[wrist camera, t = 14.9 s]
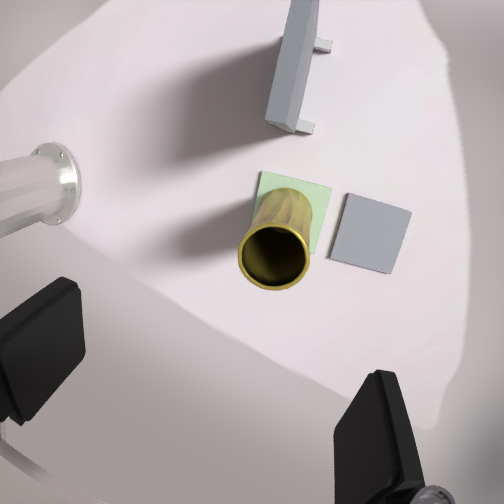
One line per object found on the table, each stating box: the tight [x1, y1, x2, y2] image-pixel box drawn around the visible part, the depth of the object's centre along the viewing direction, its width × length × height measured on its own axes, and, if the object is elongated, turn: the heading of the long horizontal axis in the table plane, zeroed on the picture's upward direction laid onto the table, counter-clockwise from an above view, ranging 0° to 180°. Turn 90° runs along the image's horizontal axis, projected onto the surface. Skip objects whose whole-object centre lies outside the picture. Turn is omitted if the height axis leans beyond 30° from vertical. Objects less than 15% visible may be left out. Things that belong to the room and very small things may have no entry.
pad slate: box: [330, 193, 412, 274], centre depth 35 cm, size 8×8×1 cm
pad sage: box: [251, 171, 332, 254], centre depth 36 cm, size 8×8×1 cm
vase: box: [238, 188, 312, 290], centre depth 29 cm, size 6×6×14 cm
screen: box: [265, 0, 333, 134], centre depth 23 cm, size 5×12×18 cm, turn 168°
